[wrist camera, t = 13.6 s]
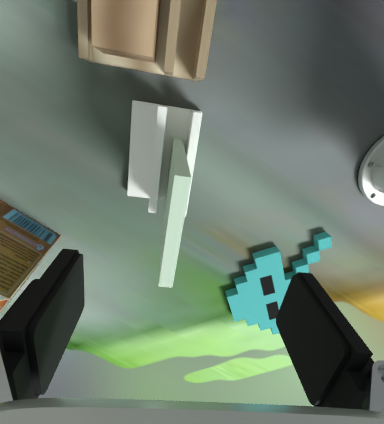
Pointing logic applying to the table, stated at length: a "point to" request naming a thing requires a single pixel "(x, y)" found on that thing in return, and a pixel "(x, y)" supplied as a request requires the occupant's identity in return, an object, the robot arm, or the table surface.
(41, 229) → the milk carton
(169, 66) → the rack
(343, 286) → the table surface
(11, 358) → the robot arm
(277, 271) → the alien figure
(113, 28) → the offcut upper
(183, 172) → the sheet
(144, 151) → the stand
